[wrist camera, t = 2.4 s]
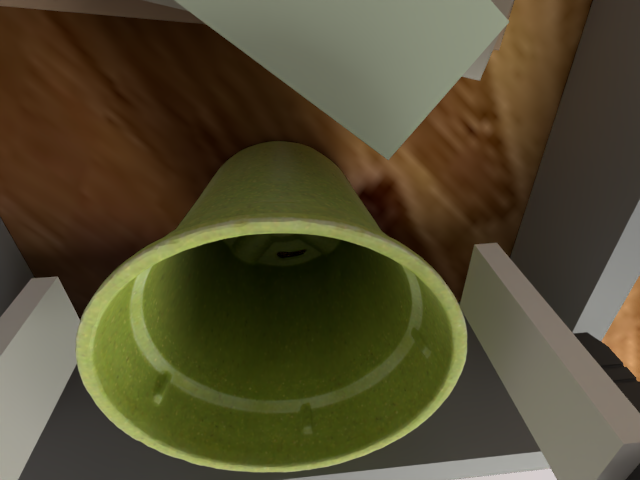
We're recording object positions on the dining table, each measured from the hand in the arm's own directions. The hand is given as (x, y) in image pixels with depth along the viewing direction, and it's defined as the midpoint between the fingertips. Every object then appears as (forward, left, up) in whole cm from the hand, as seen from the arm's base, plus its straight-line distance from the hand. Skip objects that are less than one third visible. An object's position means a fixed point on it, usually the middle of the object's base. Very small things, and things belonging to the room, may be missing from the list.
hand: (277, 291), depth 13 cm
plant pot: (0, 0, -5) cm, 5 cm away
